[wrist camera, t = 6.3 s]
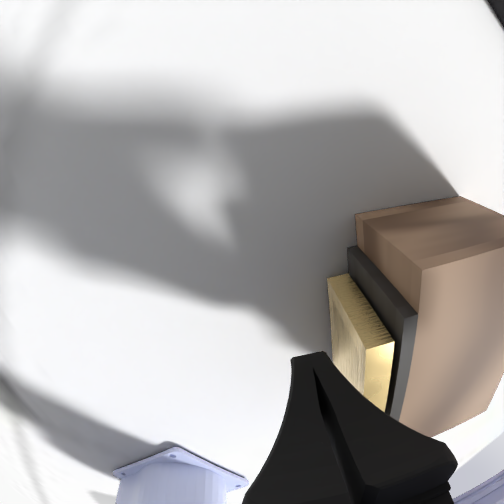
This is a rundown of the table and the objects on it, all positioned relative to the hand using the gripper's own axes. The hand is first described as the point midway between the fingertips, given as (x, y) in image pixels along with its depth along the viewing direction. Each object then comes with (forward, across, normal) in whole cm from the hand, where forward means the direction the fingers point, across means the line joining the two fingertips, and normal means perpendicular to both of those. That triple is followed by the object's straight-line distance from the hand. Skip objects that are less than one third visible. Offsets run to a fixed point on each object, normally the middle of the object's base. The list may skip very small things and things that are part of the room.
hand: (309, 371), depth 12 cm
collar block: (+3, -6, 0) cm, 7 cm away
